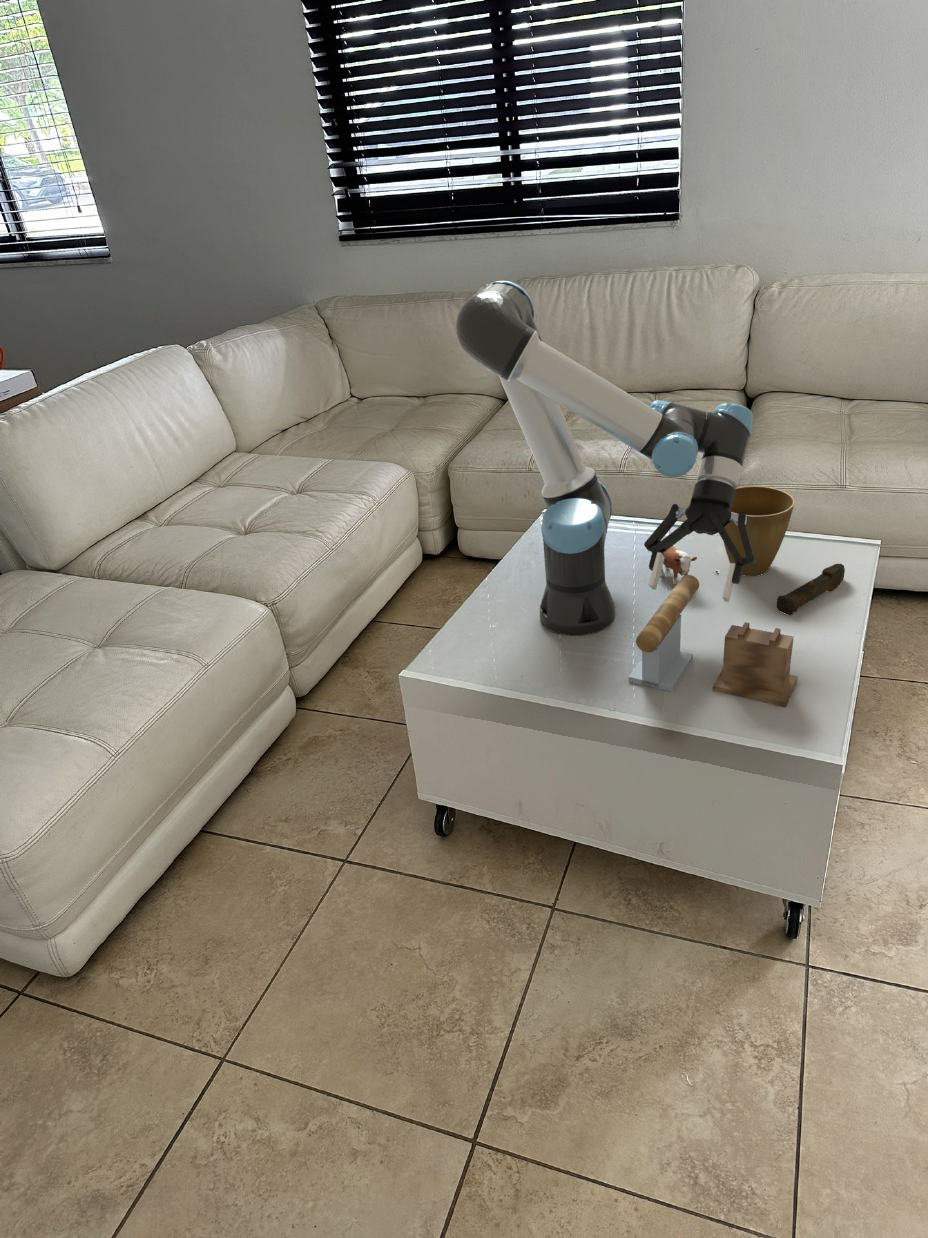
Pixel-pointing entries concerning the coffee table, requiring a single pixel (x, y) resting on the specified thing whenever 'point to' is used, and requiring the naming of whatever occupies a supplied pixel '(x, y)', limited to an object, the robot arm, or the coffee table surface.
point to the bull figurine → (676, 562)
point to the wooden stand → (757, 665)
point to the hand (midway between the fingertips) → (688, 593)
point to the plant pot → (760, 524)
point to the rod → (667, 614)
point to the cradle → (663, 662)
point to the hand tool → (811, 589)
